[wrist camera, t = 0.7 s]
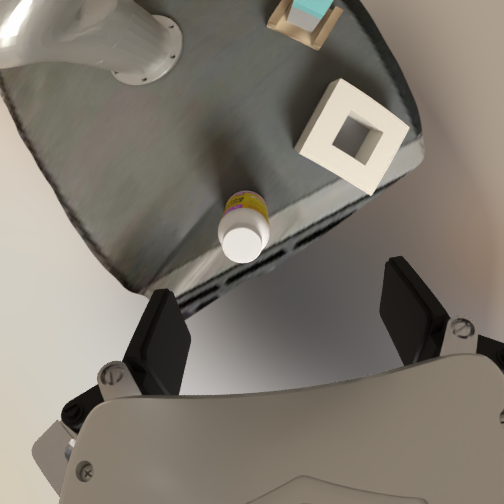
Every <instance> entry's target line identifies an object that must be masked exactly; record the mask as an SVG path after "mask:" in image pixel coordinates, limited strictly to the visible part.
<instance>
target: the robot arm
mask: <svg viewBox="0 0 504 504" xmlns="http://www.w3.org/2000/svg"><path fill="white" fill-rule="evenodd" d="M172 27H173V28H172ZM171 28H172V29H171ZM182 49H183V35H182V32H181V30H180V28H179V26H178V25H177V24H176V23H175V22H174V21H172V20H171V19H170V18H167V17H165V16H161V15H150V14H149V13H148V12H147V11H146V10H144V9H143V8H142V7H141V6H139V5H138V4H137V3H136V2H134V1H133V0H0V69H3V68H12V67H18V66H23V65H27V64H32V63H37V62H43V61H61V62H69V63H76V64H81V65H87V66H92V67H97V68H102V69H107V70H110V71H111V73H112V74H113V76H114V77H115V78H116V79H118V80H119V81H120V82H123V83H125V84H129V85H137V86H138V85H146V84H149V83H152V82H154V81H156V80H159V79H160V78H162V77H163V76H165V75H166V74H167V73H168V72H169V71H170V70H171V69H172V68H173V67H174V66H175V64H176V63H177V61H178V59H179V58H180V55H181V52H182ZM174 56H175V58H173V57H174ZM146 78H147V80H146V81H145V79H146ZM380 316H381V318H382V320H383V322H384V324H385V326H386V328H387V330H388V332H389V334H390V336H391V339H392V341H393V343H394V345H395V347H396V349H397V351H398V353H399V356H400V358H401V360H402V362H403V364H404V366H403V367H400V368H396V369H392V370H388V371H384V372H380V373H376V374H372V375H367V376H364V377H359V378H354V379H350V380H344V381H339V382H333V383H329V384H322V385H316V386H310V387H303V388H296V389H288V390H279V391H269V392H259V393H245V394H229V395H179V392H180V387H181V383H182V378H183V374H184V369H185V365H186V360H187V356H188V352H189V348H190V344H191V335H190V333H189V331H188V328H187V326H186V323H185V321H184V318H183V316H182V313H181V311H180V308H179V306H178V303H177V301H176V298H175V296H174V293H173V292H172V291H169V290H168V289H167V288H166V289H157V290H155V291H154V292H153V294H152V296H151V299H150V301H149V303H148V305H147V307H146V309H145V311H144V313H143V315H142V317H141V320H140V322H139V324H138V326H137V328H136V330H135V332H134V335H133V337H132V339H131V341H130V344H129V346H128V348H127V350H126V353H125V355H124V358H123V360H122V362H121V361H112V362H110V363H107V364H106V365H104V366H103V367H102V368H101V370H100V371H99V373H98V376H97V381H98V384H97V385H96V386H94V387H92V388H91V389H89V390H87V391H86V392H84V393H83V394H81V395H79V396H78V397H76V398H74V399H73V400H71V401H69V403H67V404H66V405H65V406H64V408H63V410H62V413H61V418H62V420H61V421H59V420H57V421H56V422H55V423H54V424H53V425H52V426H51V427H50V428H49V429H48V430H47V431H46V432H45V433H44V434H43V435H42V436H41V437H40V438H39V439H38V440H37V441H36V442H35V443H34V445H33V448H32V456H33V458H34V460H35V461H36V463H37V465H38V466H39V468H40V469H41V471H42V472H43V474H44V476H45V477H46V478H47V480H48V481H49V483H50V484H51V486H52V487H53V488H54V490H55V491H56V493H57V494H58V495H59V497H60V500H59V504H504V343H502V342H499V341H496V340H493V339H490V338H487V337H484V336H481V335H479V334H478V327H477V325H476V324H475V323H474V321H473V320H471V319H470V318H468V317H466V316H454V317H452V318H450V317H449V315H448V313H447V312H446V310H445V309H444V308H443V306H442V305H441V303H440V302H439V301H438V299H437V298H436V297H435V296H434V294H433V293H432V292H431V290H430V289H429V288H428V287H427V285H426V284H425V283H424V282H423V280H422V279H421V278H420V277H419V275H418V274H417V273H416V272H415V271H414V269H413V268H412V267H411V266H410V265H409V263H408V262H407V261H406V260H405V259H404V258H403V257H402V256H398V257H392V258H389V261H388V262H386V264H385V272H384V280H383V288H382V296H381V303H380Z"/></svg>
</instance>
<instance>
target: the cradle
mask: <svg viewBox="0 0 504 504" xmlns="http://www.w3.org/2000/svg"><path fill="white" fill-rule="evenodd" d="M293 1H294V0H282V1H281V2H280V3H279V5H278V6H277V8H276V9H275V11H274V13H273V14H272V16H271V17H270V19H269V20H268V24H267V27H268V28H270V29H273V30H275V31H277V32H280V33H282V34H284V35H286V36H289V37H291V38H293V39H295V40H297V41H299V42H301V43H303V44H305V45H307V46H309V47H311V48H313V49H315V50H317V51H318V50H319V49H320V47H321V46H322V45H323V43H324V41H325V40H326V38H327V36H328V35H329V33H330V31H331V30H332V28H333V26H334V25H335V23H336V21H337V20H338V18H339V16H340V15H341V13H342V11H343V9H341V8H339V7H337V6H336V7H335V8H334V9H333V10H331V9H329V8H328V10H327V11H326V13H325V15H324V16H323V17H322V19H321V20H320V22H319V23H318V24H317V26H316V27H315V29H314V30H313V32H312V33H310V32H308V31H306V30H304V29H302V28H300V27H298V26H296V25H293V24H291V23H289V22H287V19H288V16H289V13H290V10H291V7H292V4H293Z"/></svg>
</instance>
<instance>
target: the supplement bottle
mask: <svg viewBox="0 0 504 504" xmlns="http://www.w3.org/2000/svg"><path fill="white" fill-rule="evenodd" d="M218 237H219V241H220V243H221V245H222V248H223V251H224V253H225V255H226V256H227V257H228V258H229V259H231V260H232V261H234V262H238V263H248V262H251V261H253V260H254V259H256V258H257V257H258V256H259V254H260V252H261V250H262V249H263V248H264V247H265V246H266V244H267V242H268V239H269V221H268V210H267V205H266V203H265V201H264V199H263V198H262V197H261V196H260V195H258V194H257V193H255V192H252V191H240V192H237V193H235V194H234V195H233V196H231V197H230V199H229V200H228V202H227V204H226V206H225V209H224V212H223V215H222V218H221V221H220V224H219V227H218Z"/></svg>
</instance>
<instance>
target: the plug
mask: <svg viewBox="0 0 504 504" xmlns="http://www.w3.org/2000/svg"><path fill="white" fill-rule="evenodd" d="M332 2H333V0H294V1H293V4H292V7H291V10H290V13H289V16H288V19H287V22H289V23H291V24H293V25H296V26H298V27H300V28H302V29H304V30H306V31H308V32H310V33H312V32H313V30H314V29H315V27H316V26H317V24H318V23H319V22H320V20H321V19H322V17H323V16H324V15H325V13H326V11H327V10H328V8H329V7H330V5H331V3H332Z"/></svg>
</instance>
